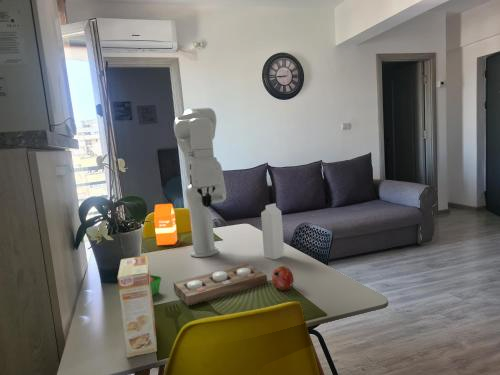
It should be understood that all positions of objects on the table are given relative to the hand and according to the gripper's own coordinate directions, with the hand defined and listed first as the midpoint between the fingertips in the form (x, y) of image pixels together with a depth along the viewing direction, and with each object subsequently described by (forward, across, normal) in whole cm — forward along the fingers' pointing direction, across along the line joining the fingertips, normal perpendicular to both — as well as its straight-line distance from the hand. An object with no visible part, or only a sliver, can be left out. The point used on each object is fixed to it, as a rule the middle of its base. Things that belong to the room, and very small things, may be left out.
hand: (207, 206), depth 127 cm
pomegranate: (+26, +14, -24) cm, 38 cm away
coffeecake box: (+26, -32, -29) cm, 50 cm away
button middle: (+24, -2, -10) cm, 26 cm away
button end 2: (+25, +7, -10) cm, 28 cm away
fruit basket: (+26, -26, -1) cm, 37 cm away
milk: (+27, +29, +5) cm, 40 cm away
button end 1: (+25, -11, -11) cm, 29 cm away
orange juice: (+28, 0, +60) cm, 67 cm away
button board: (+26, -2, -10) cm, 28 cm away
